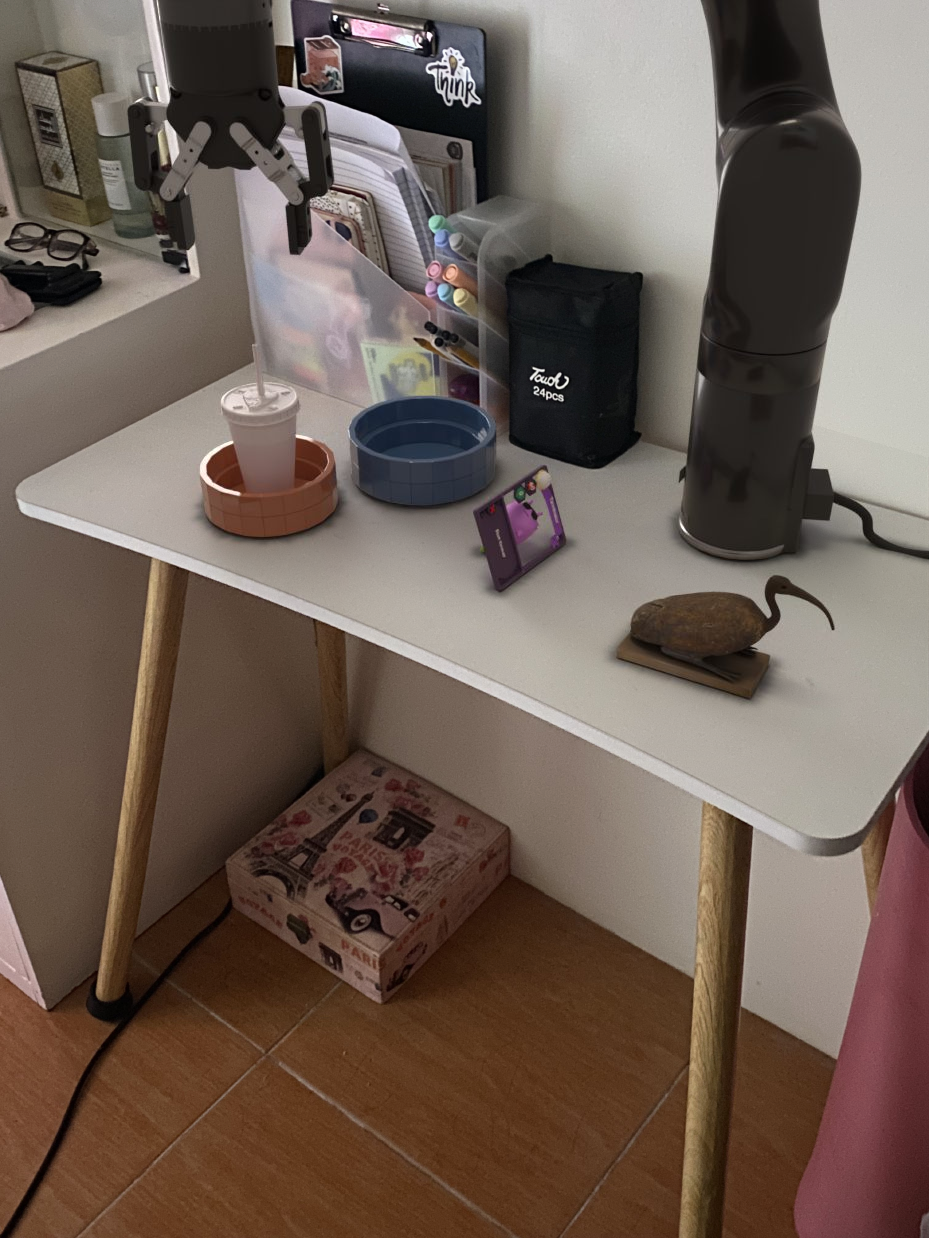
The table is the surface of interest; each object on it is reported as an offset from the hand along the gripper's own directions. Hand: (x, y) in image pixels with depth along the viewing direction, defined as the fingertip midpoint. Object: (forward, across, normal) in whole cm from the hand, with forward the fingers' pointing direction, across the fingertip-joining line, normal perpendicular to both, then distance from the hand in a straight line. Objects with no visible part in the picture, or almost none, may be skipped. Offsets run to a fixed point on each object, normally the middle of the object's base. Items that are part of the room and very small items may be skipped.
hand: (242, 249), depth 92 cm
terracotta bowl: (+22, 0, 0) cm, 22 cm away
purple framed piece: (+22, +21, -6) cm, 31 cm away
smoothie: (+22, 0, 0) cm, 22 cm away
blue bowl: (+22, +12, +7) cm, 26 cm away
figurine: (+22, +37, -19) cm, 47 cm away
